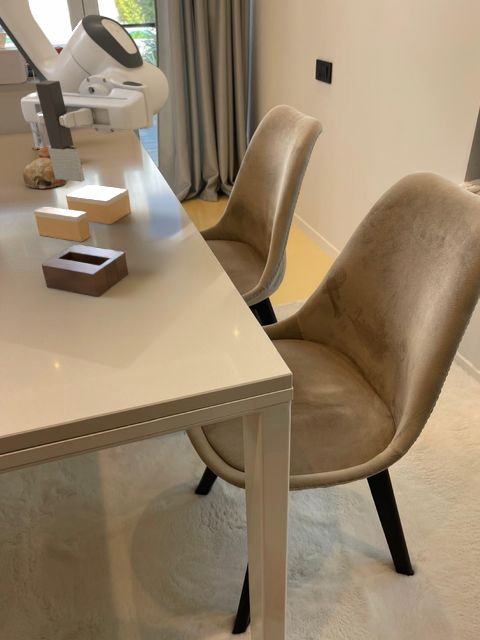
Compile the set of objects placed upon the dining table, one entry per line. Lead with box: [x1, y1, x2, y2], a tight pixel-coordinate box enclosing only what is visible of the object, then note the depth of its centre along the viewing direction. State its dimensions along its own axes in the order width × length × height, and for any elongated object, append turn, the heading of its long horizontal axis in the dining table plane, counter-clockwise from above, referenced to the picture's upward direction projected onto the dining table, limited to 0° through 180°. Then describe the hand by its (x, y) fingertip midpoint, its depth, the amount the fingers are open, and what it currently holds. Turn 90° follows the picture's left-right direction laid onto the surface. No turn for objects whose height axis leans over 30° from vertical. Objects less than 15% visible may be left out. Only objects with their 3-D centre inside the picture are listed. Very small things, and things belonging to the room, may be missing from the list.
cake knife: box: [34, 80, 85, 183], centre depth 83 cm, size 5×2×14 cm, turn 69°
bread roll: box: [22, 157, 67, 190], centre depth 138 cm, size 10×10×8 cm
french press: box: [25, 69, 50, 148], centre depth 163 cm, size 10×12×25 cm
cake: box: [65, 184, 132, 225], centre depth 119 cm, size 10×8×5 cm
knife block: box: [41, 243, 129, 298], centre depth 93 cm, size 10×9×4 cm
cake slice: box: [33, 205, 91, 243], centre depth 109 cm, size 10×3×5 cm, turn 69°
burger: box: [37, 145, 50, 159], centre depth 153 cm, size 10×9×5 cm
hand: (51, 120), depth 81 cm, fingers closed on cake knife, 2 cm apart
